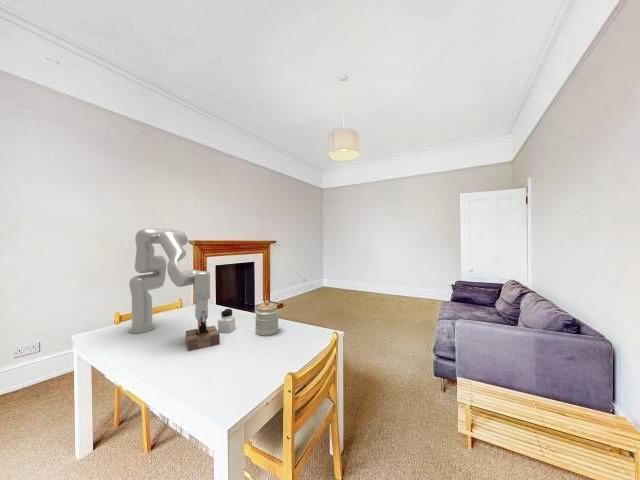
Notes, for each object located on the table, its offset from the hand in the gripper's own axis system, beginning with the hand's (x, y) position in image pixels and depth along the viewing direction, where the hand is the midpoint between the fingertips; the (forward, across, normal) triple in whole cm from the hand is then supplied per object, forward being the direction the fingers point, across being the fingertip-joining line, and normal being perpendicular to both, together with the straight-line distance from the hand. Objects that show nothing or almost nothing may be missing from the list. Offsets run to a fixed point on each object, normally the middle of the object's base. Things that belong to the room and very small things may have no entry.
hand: (202, 331), depth 126 cm
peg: (+4, 0, 0) cm, 4 cm away
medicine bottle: (+6, -10, +14) cm, 18 cm away
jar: (+6, +4, +33) cm, 34 cm away
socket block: (+6, 0, 0) cm, 6 cm away
